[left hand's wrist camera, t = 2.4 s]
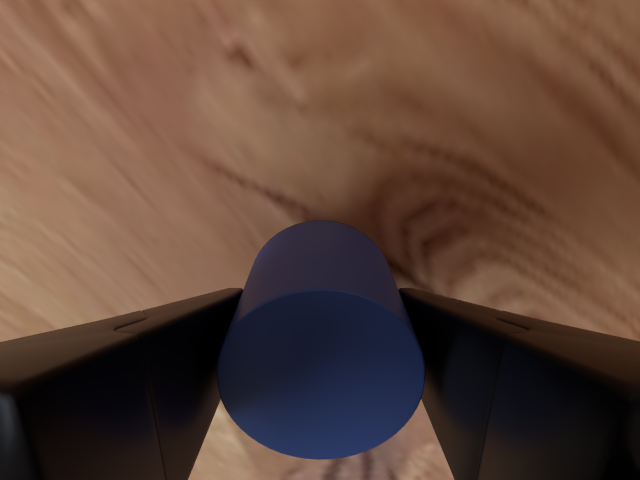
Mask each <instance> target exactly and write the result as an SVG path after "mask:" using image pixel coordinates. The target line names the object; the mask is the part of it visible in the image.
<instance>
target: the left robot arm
mask: <svg viewBox="0 0 640 480" xmlns="http://www.w3.org/2000/svg"><path fill="white" fill-rule="evenodd" d="M398 291H399V293H400V296H401V298H402V301H403V303H404V306H405V308H406V311H407V314H408V316H409V319H410V321H411V324H412V326H413V329H414V331H415V334H416V336H417V339H418V341H419V344H420V347H421V349H422V352H423V356H424V360H425V370H426V376H425V386H424V390H423V394H422V397H421V399H422V402H423V404H424V406H425V409H426V411H427V414H428V416H429V419H430V421H431V423H432V426H433V428H434V431H435V433H436V436H437V438H438V440H439V443H440V445H441V448H442V450H443V452H444V455H445V457H446V460H447V462H448V465H449V467H450V469H451V472H452V474H453V477H454V479H455V480H640V341H635V340H631V339H626V338H621V337H617V336H612V335H607V334H603V333H598V332H594V331H589V330H584V329H580V328H575V327H571V326H566V325H561V324H557V323H552V322H548V321H543V320H539V319H535V318H530V317H526V316H522V315H518V314H514V313H510V312H506V311H500V310H496V309H492V308H488V307H484V306H481V305H477V304H473V303H469V302H465V301H461V300H457V299H453V298H449V297H445V296H441V295H438V294H434V293H430V292H426V291H422V290H418V289H414V288H400V289H399V290H398ZM242 292H243V289H242V288H228V289H224V290H220V291H216V292H212V293H208V294H204V295H201V296H197V297H193V298H189V299H185V300H181V301H177V302H173V303H170V304H166V305H162V306H158V307H154V308H150V309H146V310H143V311H136V312H133V313H129V314H125V315H120V316H116V317H112V318H108V319H104V320H99V321H95V322H91V323H86V324H82V325H77V326H73V327H68V328H63V329H59V330H54V331H50V332H45V333H40V334H36V335H31V336H27V337H22V338H18V339H13V340H8V341H4V342H0V480H188V478H189V476H190V473H191V471H192V468H193V466H194V463H195V461H196V458H197V456H198V453H199V451H200V449H201V446H202V444H203V441H204V439H205V436H206V434H207V431H208V429H209V426H210V424H211V422H212V419H213V417H214V414H215V412H216V409H217V407H218V404H219V402H220V399H221V397H220V394H219V390H218V385H217V378H216V373H217V361H218V356H219V353H220V350H221V347H222V344H223V341H224V339H225V336H226V334H227V331H228V329H229V326H230V323H231V321H232V318H233V316H234V313H235V310H236V308H237V305H238V303H239V300H240V298H241V295H242Z"/></svg>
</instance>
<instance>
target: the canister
mask: <svg viewBox="0 0 640 480" xmlns="http://www.w3.org/2000/svg"><path fill="white" fill-rule="evenodd" d="M425 376H426V370H425V360H424V356H423V352H422V349H421V347H420V344H419V341H418V339H417V336H416V334H415V331H414V329H413V326H412V324H411V321H410V319H409V316H408V314H407V311H406V308H405V306H404V303H403V301H402V298H401V296H400V293H399V291H398V288H397V286H396V283H395V280H394V278H393V275H392V273H391V270H390V268H389V265H388V263H387V260H386V258H385V256H384V255H383V253H382V251H381V250H380V249H379V247H378V246H377V245H376V244H375V243H374V242H373V241H372V240H371V239H370V238H369V237H368V236H366V235H365V234H364V233H362V232H361V231H359V230H357V229H355V228H353V227H351V226H348V225H345V224H342V223H338V222H333V221H309V222H303V223H300V224H296V225H293V226H291V227H289V228H286V229H284V230H283V231H281V232H279V233H278V234H276V235H275V236H274V237H273V238H271V239H270V240H269V241H268V242H267V243H266V244H265V245H264V247H263V248H262V249H261V251H260V252H259V254H258V255H257V257H256V259H255V261H254V264H253V266H252V269H251V272H250V274H249V277H248V279H247V282H246V285H245V287H244V290H243V292H242V295H241V298H240V300H239V303H238V305H237V308H236V310H235V313H234V316H233V318H232V321H231V323H230V326H229V329H228V331H227V334H226V336H225V339H224V341H223V344H222V347H221V350H220V353H219V356H218V361H217V373H216V378H217V385H218V390H219V394H220V397H221V400H222V402H223V404H224V406H225V409H226V410H227V412H228V414H229V415H230V417H231V418H232V420H233V421H234V422H235V423H236V424H237V425H238V426H239V427H240V429H242V430H243V431H244V432H245V433H246V434H247V435H248V436H250V437H251V438H253V439H254V440H256V441H257V442H258V443H260V444H262V445H264V446H266V447H268V448H270V449H272V450H275V451H277V452H280V453H283V454H286V455H290V456H294V457H300V458H306V459H335V458H343V457H347V456H352V455H356V454H359V453H362V452H365V451H367V450H370V449H372V448H374V447H376V446H378V445H380V444H381V443H383V442H385V441H387V440H388V439H389V438H391V437H392V436H393V435H395V434H396V433H397V432H398V431H399V430H400V429H401V428H402V427H403V426H404V425H405V424H406V423H407V422H408V420H409V419H410V418H411V417H412V415H413V413H414V412H415V410H416V408H417V407H418V404H419V402H420V400H421V397H422V394H423V390H424V386H425Z"/></svg>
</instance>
